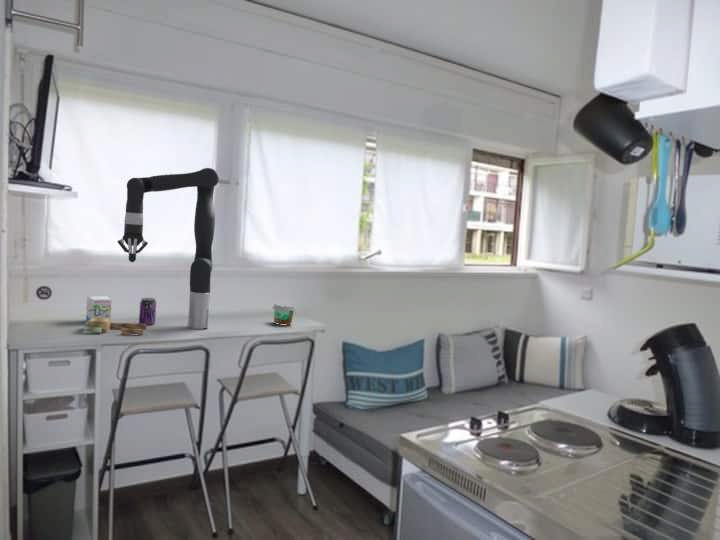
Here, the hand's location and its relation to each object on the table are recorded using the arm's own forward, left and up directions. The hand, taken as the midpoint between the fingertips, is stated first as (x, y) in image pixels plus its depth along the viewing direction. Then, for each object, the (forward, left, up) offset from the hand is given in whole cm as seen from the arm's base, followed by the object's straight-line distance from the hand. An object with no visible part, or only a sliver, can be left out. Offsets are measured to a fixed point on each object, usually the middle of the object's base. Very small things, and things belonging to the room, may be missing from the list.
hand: (132, 261), depth 235 cm
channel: (+4, +8, -30) cm, 31 cm away
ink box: (+14, -9, -30) cm, 34 cm away
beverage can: (-7, -9, -30) cm, 32 cm away
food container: (-71, -20, -30) cm, 79 cm away
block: (+10, +8, -30) cm, 33 cm away
